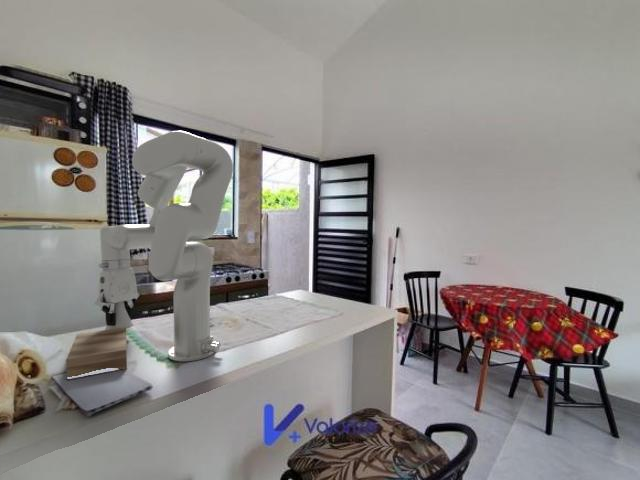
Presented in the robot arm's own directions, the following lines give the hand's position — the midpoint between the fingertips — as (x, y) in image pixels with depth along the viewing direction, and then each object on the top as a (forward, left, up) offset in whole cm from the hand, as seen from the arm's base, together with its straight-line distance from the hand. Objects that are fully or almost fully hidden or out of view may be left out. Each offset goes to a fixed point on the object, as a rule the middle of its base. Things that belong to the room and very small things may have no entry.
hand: (119, 322), depth 101 cm
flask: (0, 0, -2) cm, 2 cm away
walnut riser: (-9, +13, -6) cm, 17 cm away
